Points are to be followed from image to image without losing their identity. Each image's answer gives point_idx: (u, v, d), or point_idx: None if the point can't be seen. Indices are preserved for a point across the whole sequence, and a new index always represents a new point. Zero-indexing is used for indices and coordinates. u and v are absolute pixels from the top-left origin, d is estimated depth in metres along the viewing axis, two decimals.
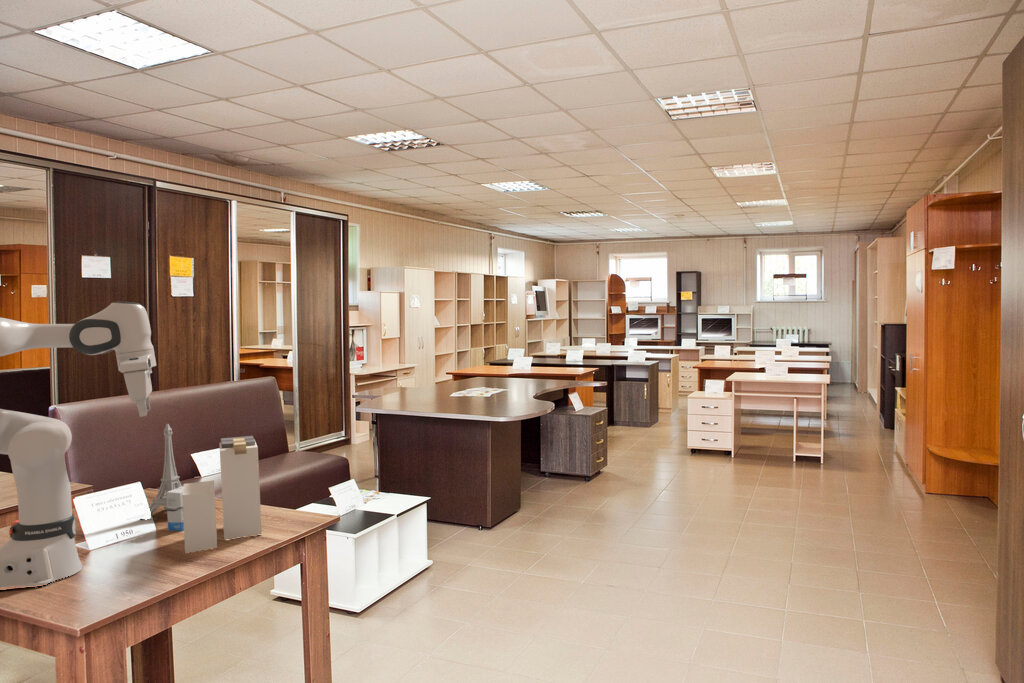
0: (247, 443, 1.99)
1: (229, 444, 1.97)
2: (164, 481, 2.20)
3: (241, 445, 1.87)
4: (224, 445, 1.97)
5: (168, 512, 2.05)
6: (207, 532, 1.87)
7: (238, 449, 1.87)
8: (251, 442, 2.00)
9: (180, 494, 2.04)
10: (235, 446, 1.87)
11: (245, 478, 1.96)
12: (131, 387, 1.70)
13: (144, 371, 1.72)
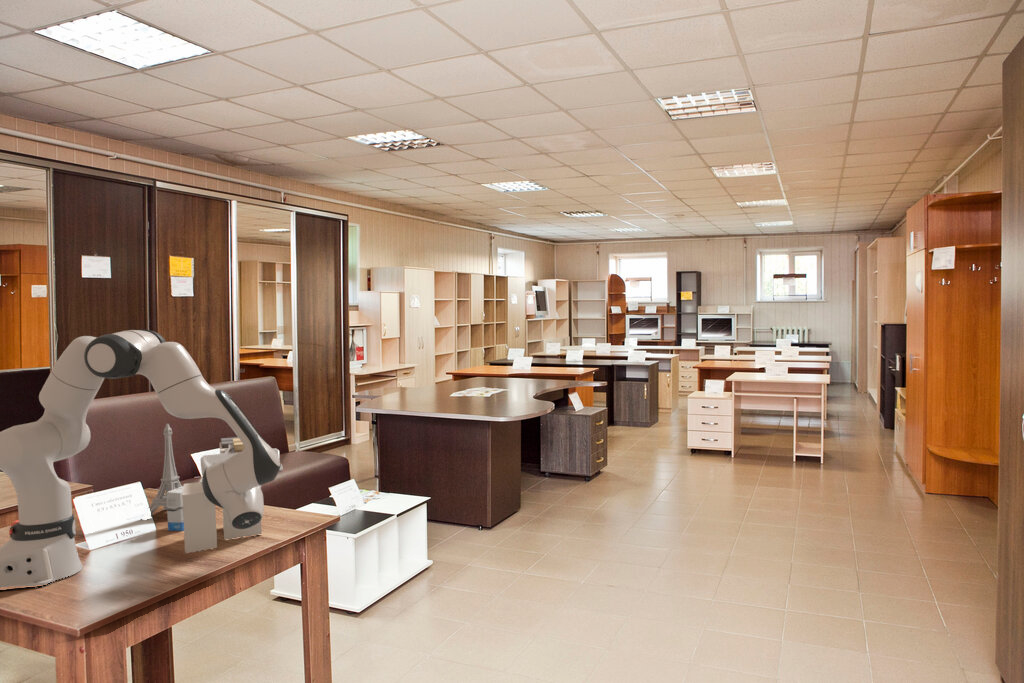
0: None
1: None
2: (164, 481, 2.20)
3: (241, 445, 1.87)
4: (224, 445, 1.97)
5: (168, 512, 2.05)
6: (207, 532, 1.87)
7: (238, 449, 1.87)
8: None
9: (180, 494, 2.04)
10: (235, 446, 1.87)
11: None
12: (201, 465, 1.80)
13: None
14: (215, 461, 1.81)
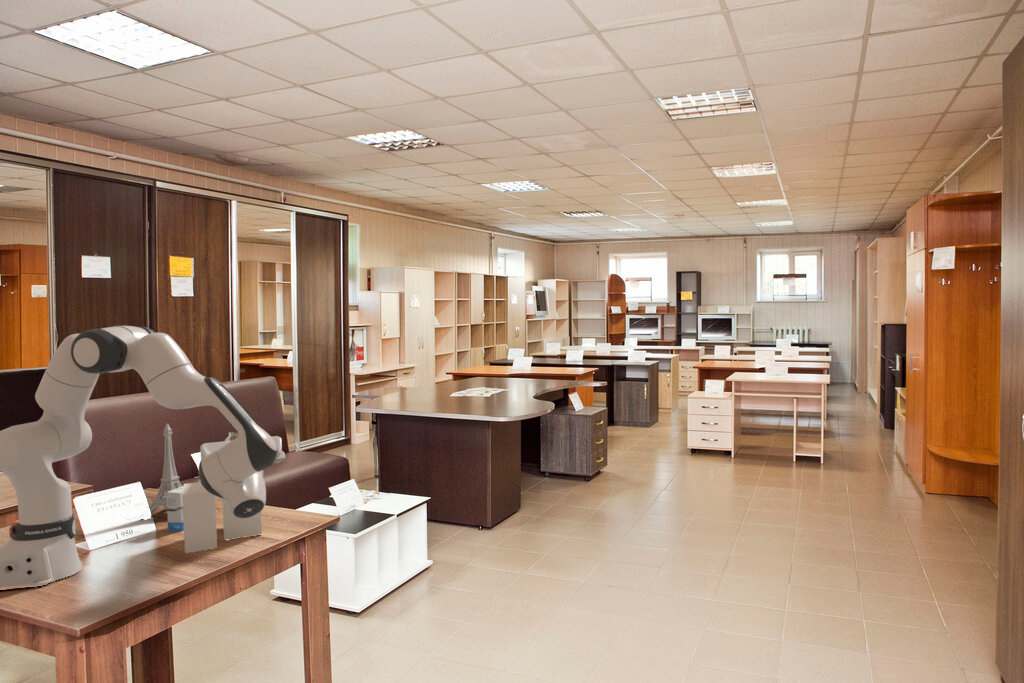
0: None
1: None
2: (164, 481, 2.20)
3: None
4: None
5: (168, 512, 2.05)
6: (207, 532, 1.87)
7: None
8: None
9: (180, 494, 2.04)
10: (236, 434, 1.81)
11: None
12: (201, 453, 1.75)
13: None
14: (215, 449, 1.76)
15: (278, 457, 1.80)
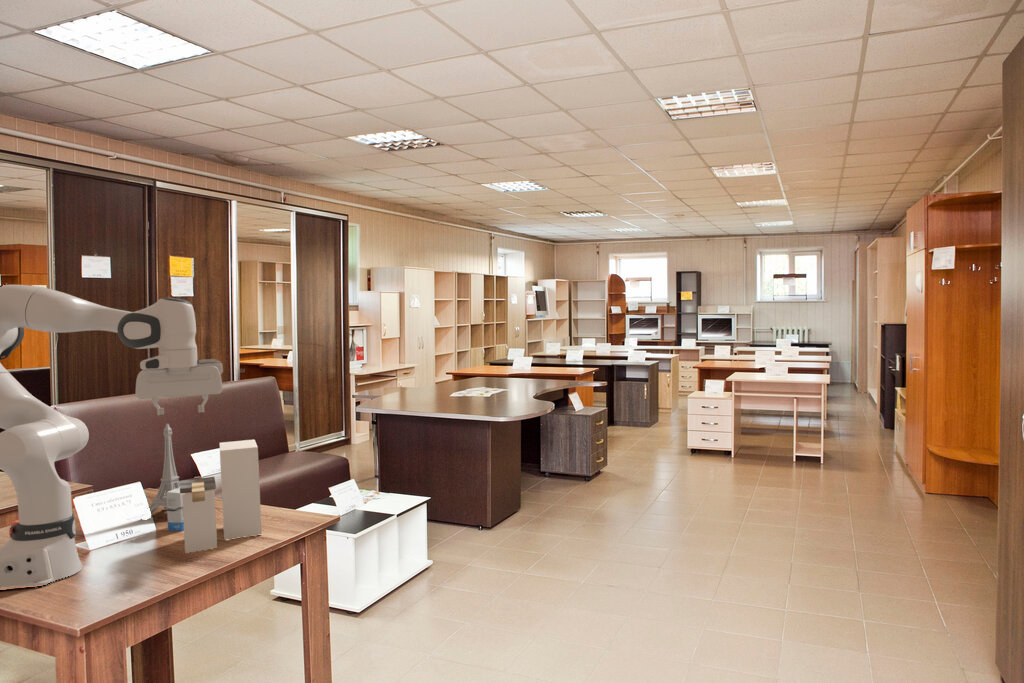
0: (207, 487, 1.89)
1: (188, 489, 1.87)
2: (164, 481, 2.20)
3: (199, 492, 1.77)
4: (182, 490, 1.86)
5: (168, 512, 2.05)
6: (207, 532, 1.87)
7: (196, 496, 1.77)
8: (211, 486, 1.89)
9: (180, 494, 2.04)
10: (193, 493, 1.76)
11: (245, 478, 1.96)
12: None
13: (141, 371, 1.70)
14: None
15: None
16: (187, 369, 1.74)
